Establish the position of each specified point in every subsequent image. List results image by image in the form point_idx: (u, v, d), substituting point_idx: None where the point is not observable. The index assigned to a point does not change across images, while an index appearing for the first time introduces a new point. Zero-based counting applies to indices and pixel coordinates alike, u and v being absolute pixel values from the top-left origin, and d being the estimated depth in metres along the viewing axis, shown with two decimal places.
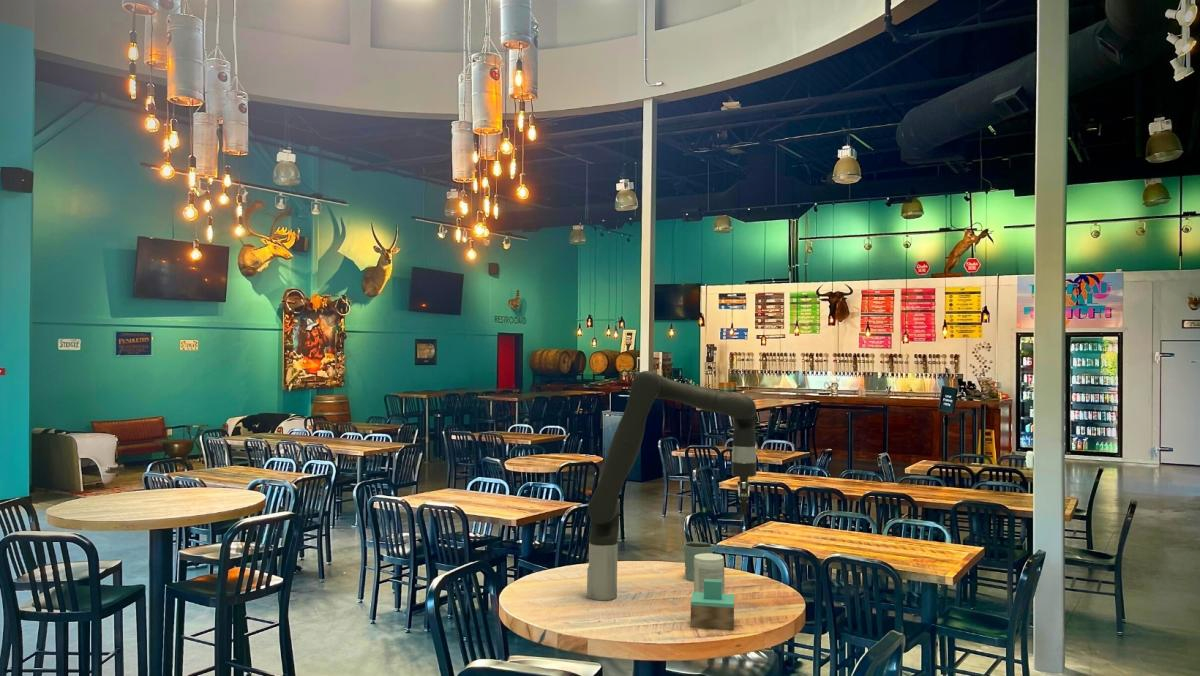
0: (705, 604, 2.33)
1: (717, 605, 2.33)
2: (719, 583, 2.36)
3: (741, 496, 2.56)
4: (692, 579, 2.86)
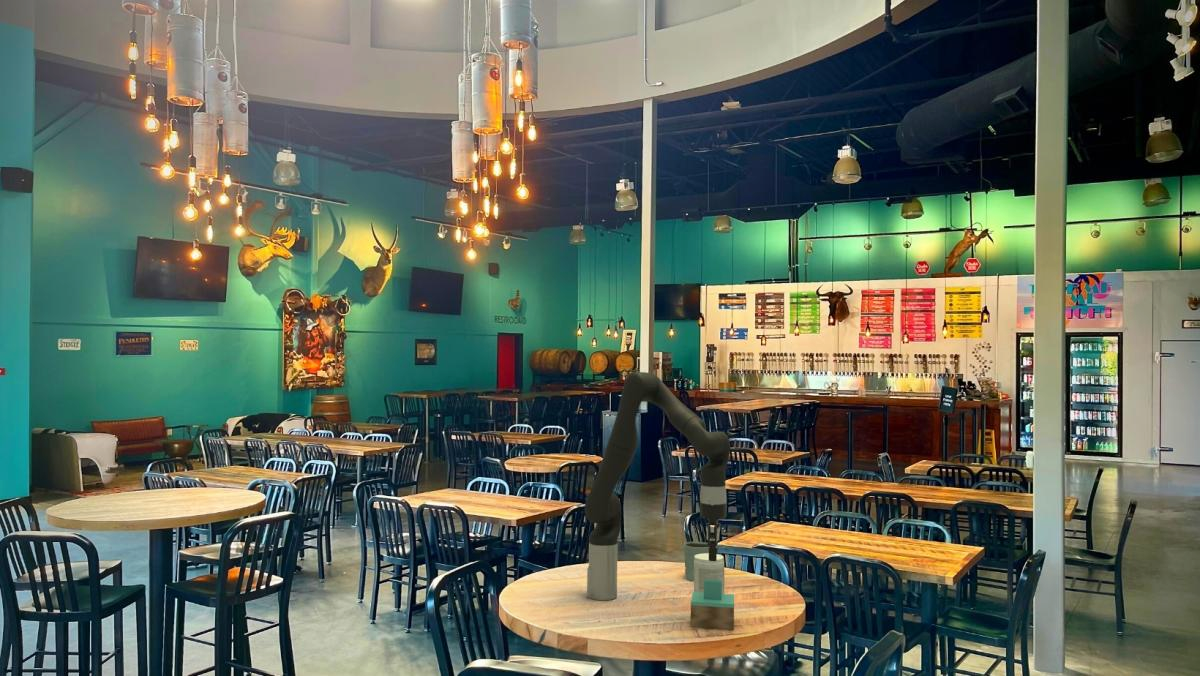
0: (705, 604, 2.33)
1: (717, 605, 2.33)
2: (719, 583, 2.36)
3: (710, 540, 2.35)
4: (692, 579, 2.86)
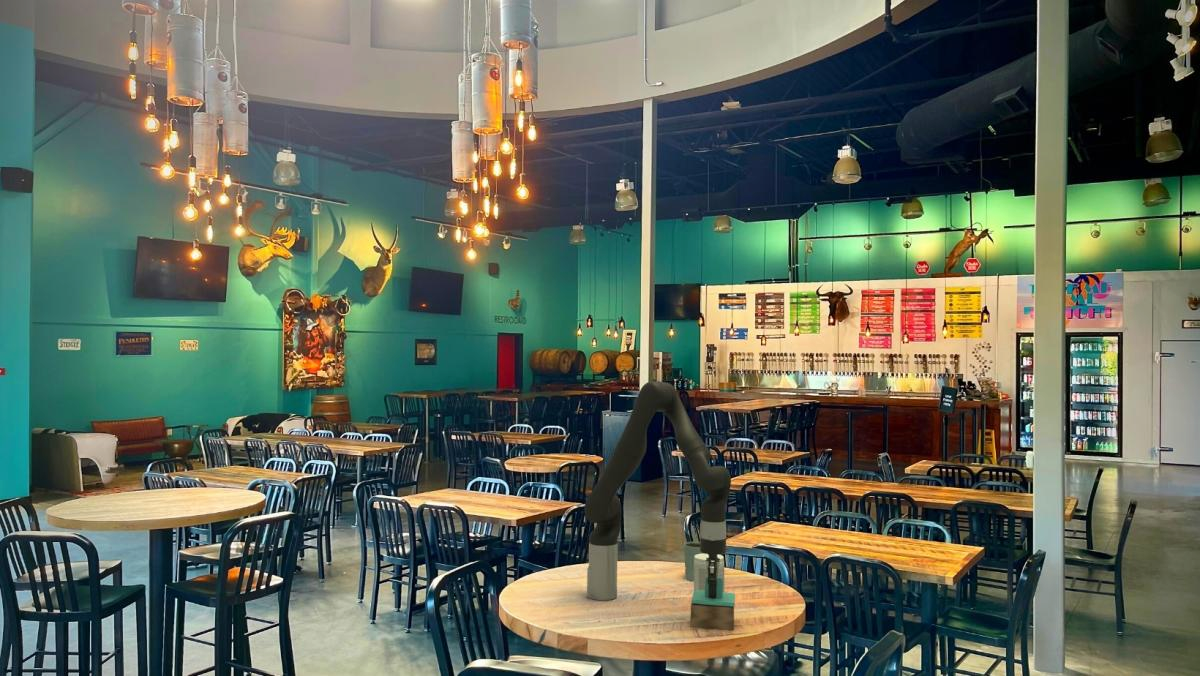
0: (706, 602, 2.33)
1: (718, 604, 2.33)
2: (720, 582, 2.36)
3: None
4: (692, 579, 2.86)
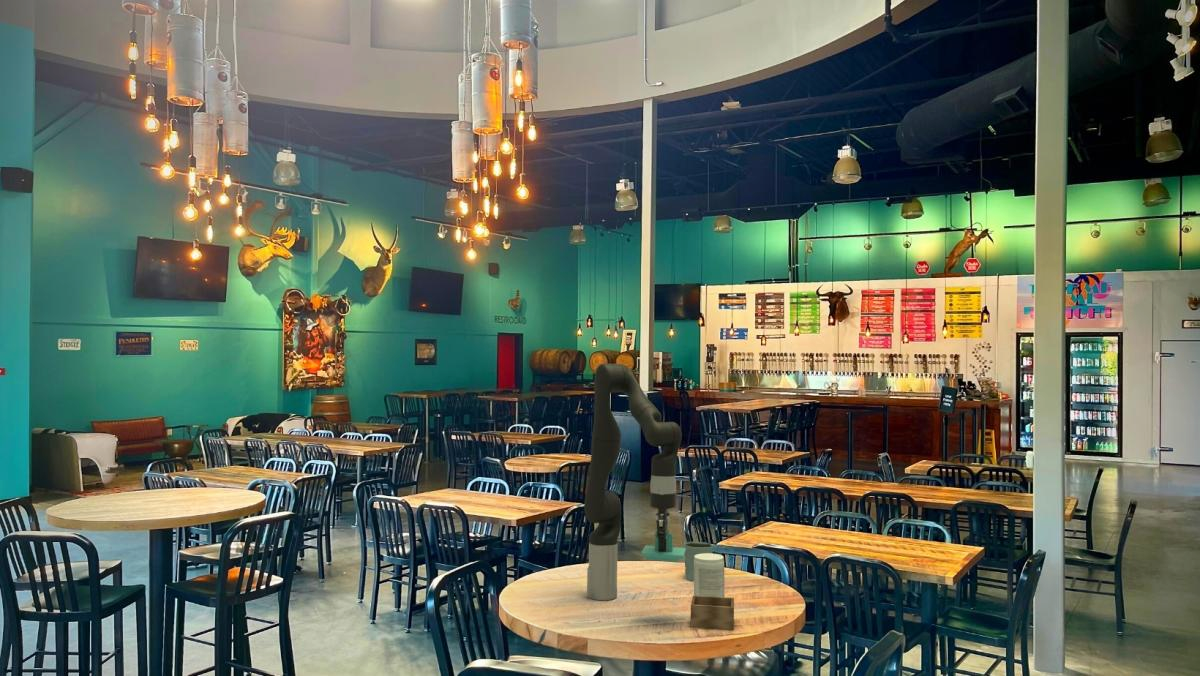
0: (655, 555, 2.36)
1: (667, 556, 2.35)
2: (670, 535, 2.39)
3: (660, 530, 2.39)
4: (692, 579, 2.86)
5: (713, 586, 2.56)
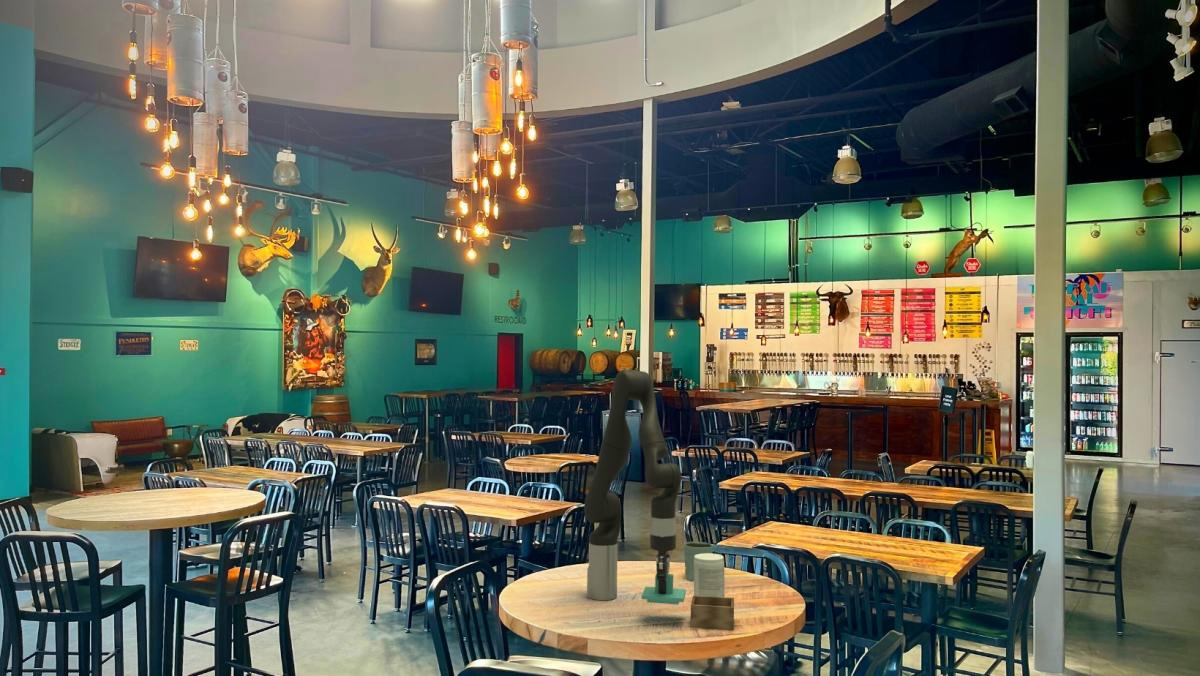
0: (655, 598, 2.35)
1: (667, 599, 2.35)
2: (670, 578, 2.38)
3: None
4: (692, 579, 2.86)
5: (713, 586, 2.56)
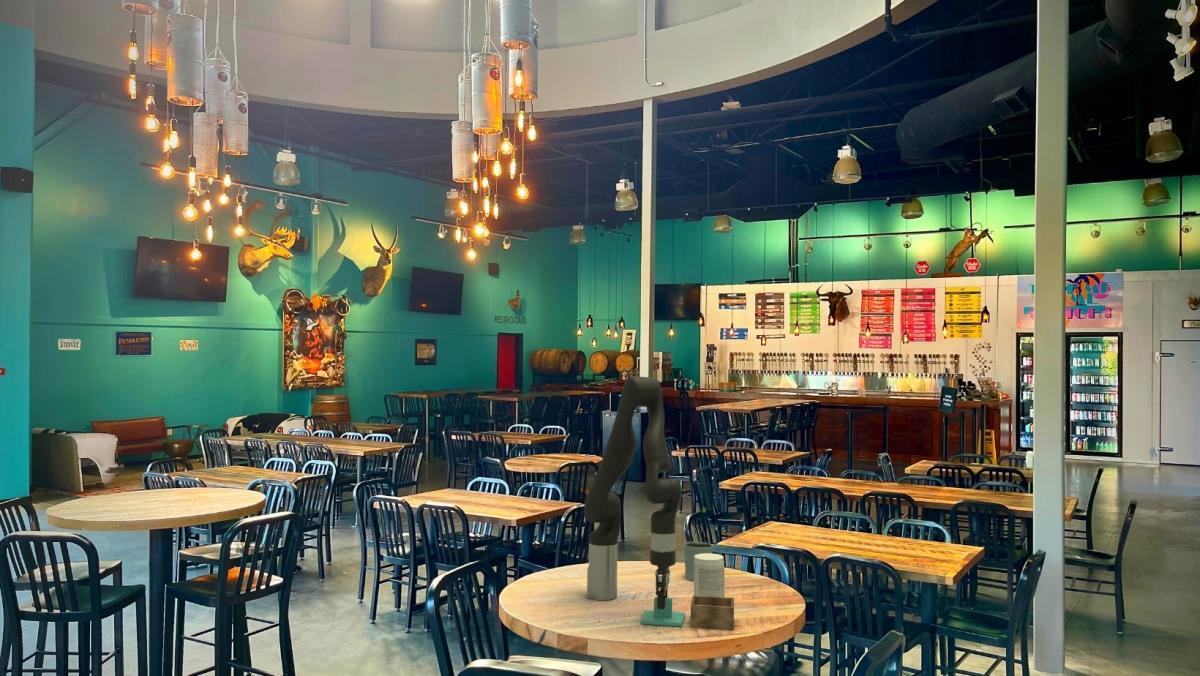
0: (654, 623, 2.35)
1: (666, 624, 2.35)
2: (669, 602, 2.38)
3: None
4: (692, 579, 2.86)
5: (713, 586, 2.56)
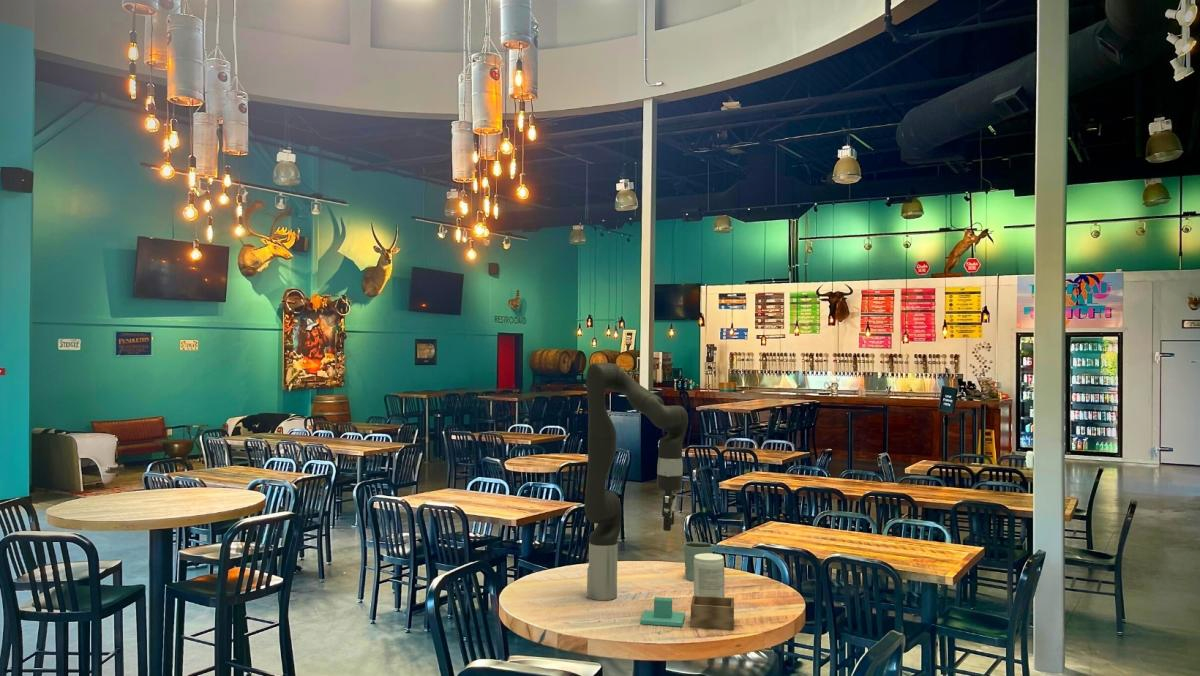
0: (654, 623, 2.35)
1: (666, 624, 2.35)
2: (669, 602, 2.38)
3: None
4: (692, 579, 2.86)
5: (713, 586, 2.56)
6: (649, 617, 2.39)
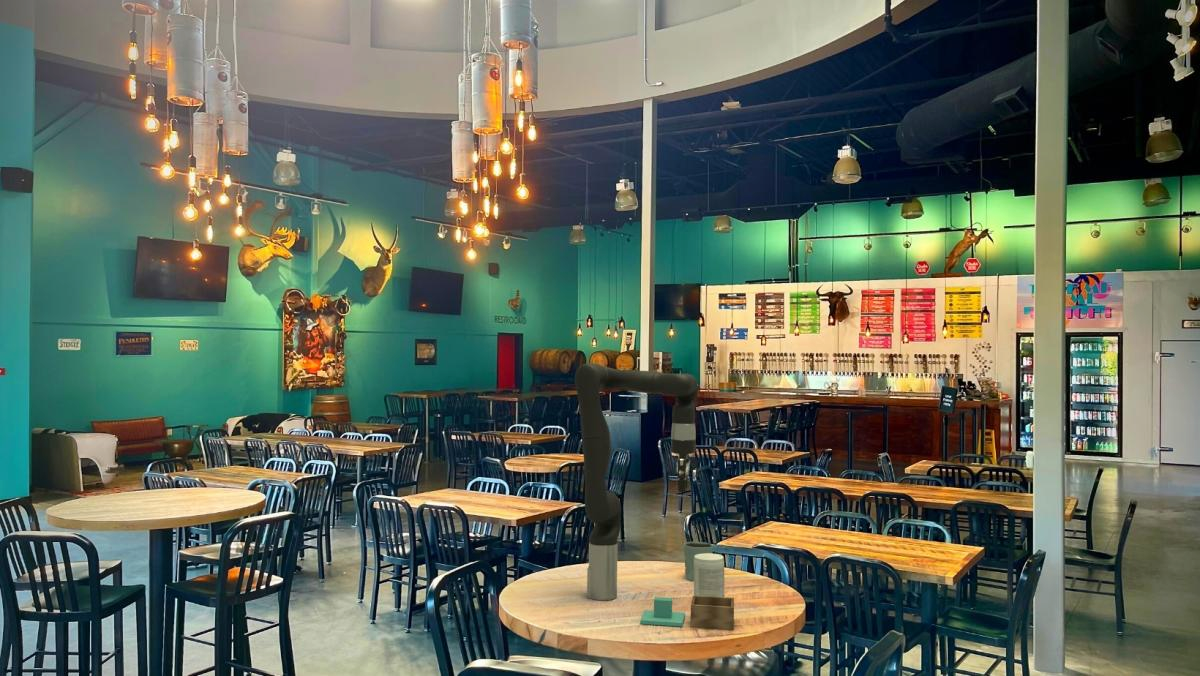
0: (654, 623, 2.35)
1: (666, 624, 2.35)
2: (669, 602, 2.38)
3: (680, 473, 2.54)
4: (692, 579, 2.86)
5: (713, 586, 2.56)
6: (649, 617, 2.39)
